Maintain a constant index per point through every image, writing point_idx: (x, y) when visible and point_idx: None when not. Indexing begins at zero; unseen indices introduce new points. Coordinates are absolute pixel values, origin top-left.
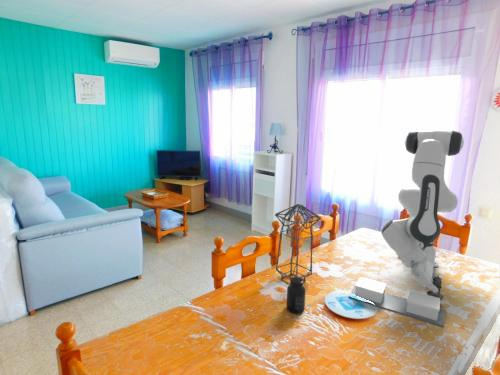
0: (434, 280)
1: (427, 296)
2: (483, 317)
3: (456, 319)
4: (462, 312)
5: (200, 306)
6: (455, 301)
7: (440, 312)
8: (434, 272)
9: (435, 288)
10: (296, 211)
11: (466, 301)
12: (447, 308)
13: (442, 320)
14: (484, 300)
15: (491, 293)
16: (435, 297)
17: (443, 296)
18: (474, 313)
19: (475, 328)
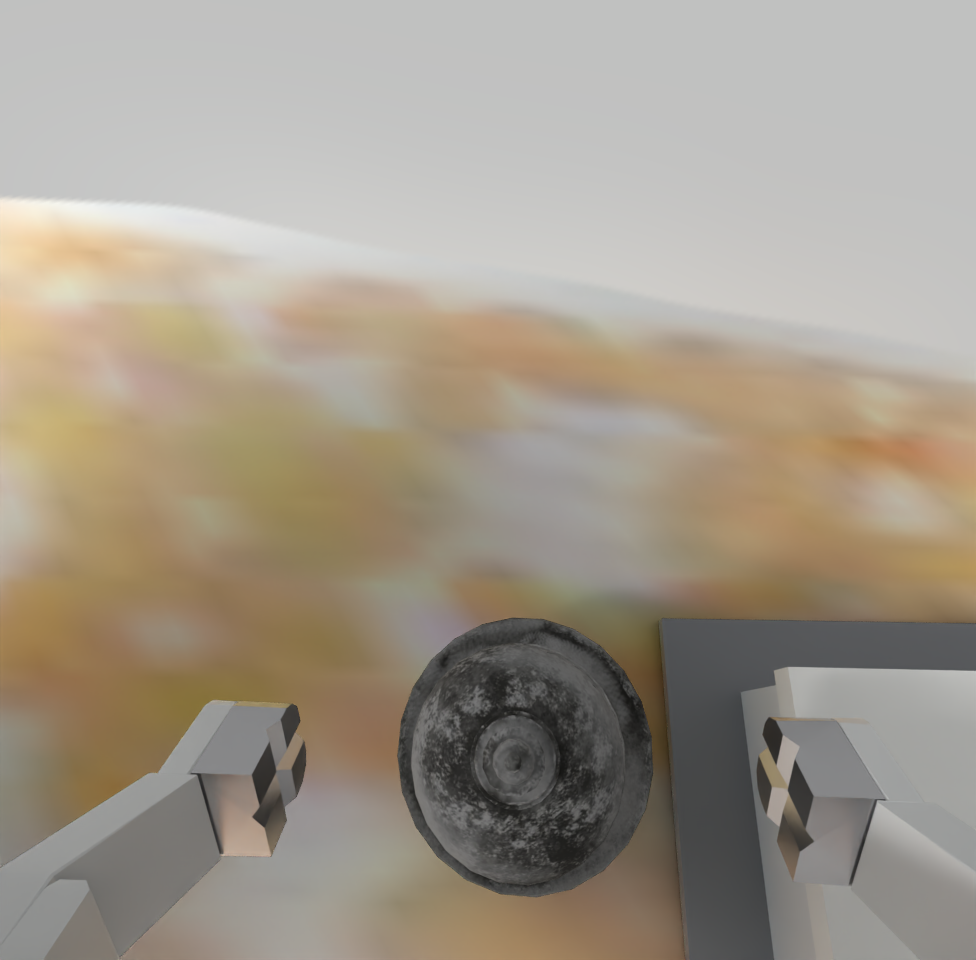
0: (598, 844)
1: None
2: (536, 289)
3: (767, 496)
4: (558, 441)
5: None
6: (334, 500)
7: (775, 658)
8: (38, 854)
9: (902, 791)
10: None
11: (276, 403)
12: (568, 581)
13: (969, 634)
14: (175, 271)
15: (2, 221)
16: None
17: (502, 620)
18: (505, 348)
19: (812, 349)
